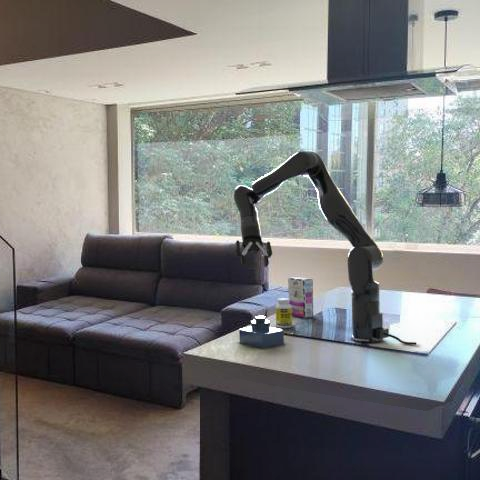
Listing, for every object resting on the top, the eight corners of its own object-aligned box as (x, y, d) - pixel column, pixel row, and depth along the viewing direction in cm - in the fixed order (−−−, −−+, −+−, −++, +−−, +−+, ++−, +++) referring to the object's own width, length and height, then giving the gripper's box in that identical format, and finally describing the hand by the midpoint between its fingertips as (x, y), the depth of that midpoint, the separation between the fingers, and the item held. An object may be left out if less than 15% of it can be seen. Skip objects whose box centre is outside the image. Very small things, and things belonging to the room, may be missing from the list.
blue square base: (285, 343, 207) (285, 323, 207) (262, 349, 201) (262, 328, 201) (261, 337, 217) (260, 319, 217) (239, 342, 212) (238, 323, 211)
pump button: (267, 322, 212) (267, 317, 212) (260, 324, 210) (259, 318, 210) (260, 321, 215) (260, 315, 215) (253, 322, 213) (253, 317, 213)
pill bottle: (280, 329, 231) (279, 300, 230) (273, 326, 237) (272, 298, 236) (295, 327, 232) (294, 299, 232) (287, 324, 238) (286, 297, 238)
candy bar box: (314, 317, 250) (313, 278, 248) (304, 318, 248) (303, 279, 246) (297, 313, 260) (296, 276, 259) (288, 314, 258) (287, 277, 257)
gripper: (235, 224, 233) (239, 260, 225) (270, 225, 235) (276, 261, 227) (231, 234, 239) (235, 269, 231) (265, 235, 241) (270, 270, 233)
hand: (255, 265), depth 229 cm, fingers open, 8 cm apart
